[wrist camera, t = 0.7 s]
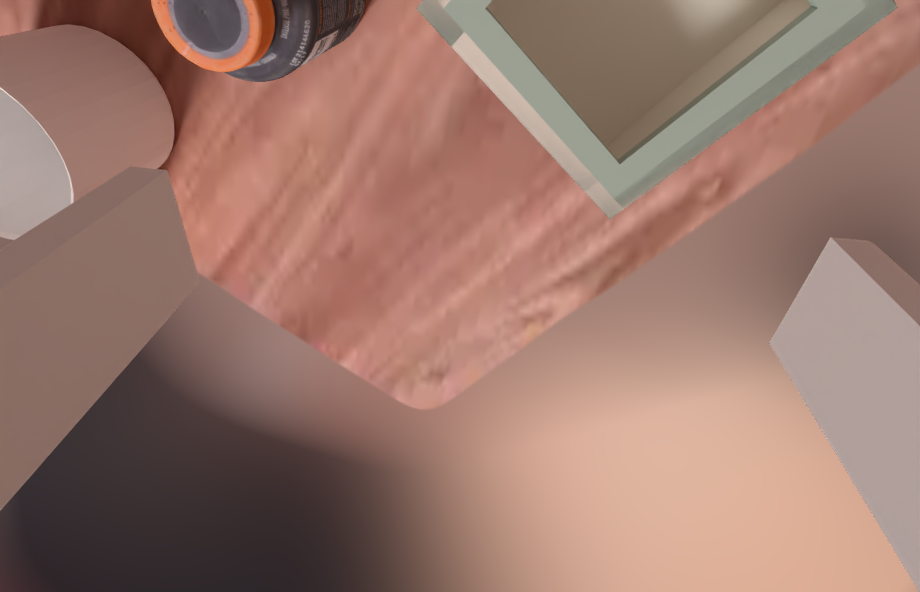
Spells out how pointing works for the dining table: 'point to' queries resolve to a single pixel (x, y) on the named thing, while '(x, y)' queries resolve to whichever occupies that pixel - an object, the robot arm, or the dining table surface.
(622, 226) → the dining table surface
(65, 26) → the mug
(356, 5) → the pill bottle
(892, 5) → the box
